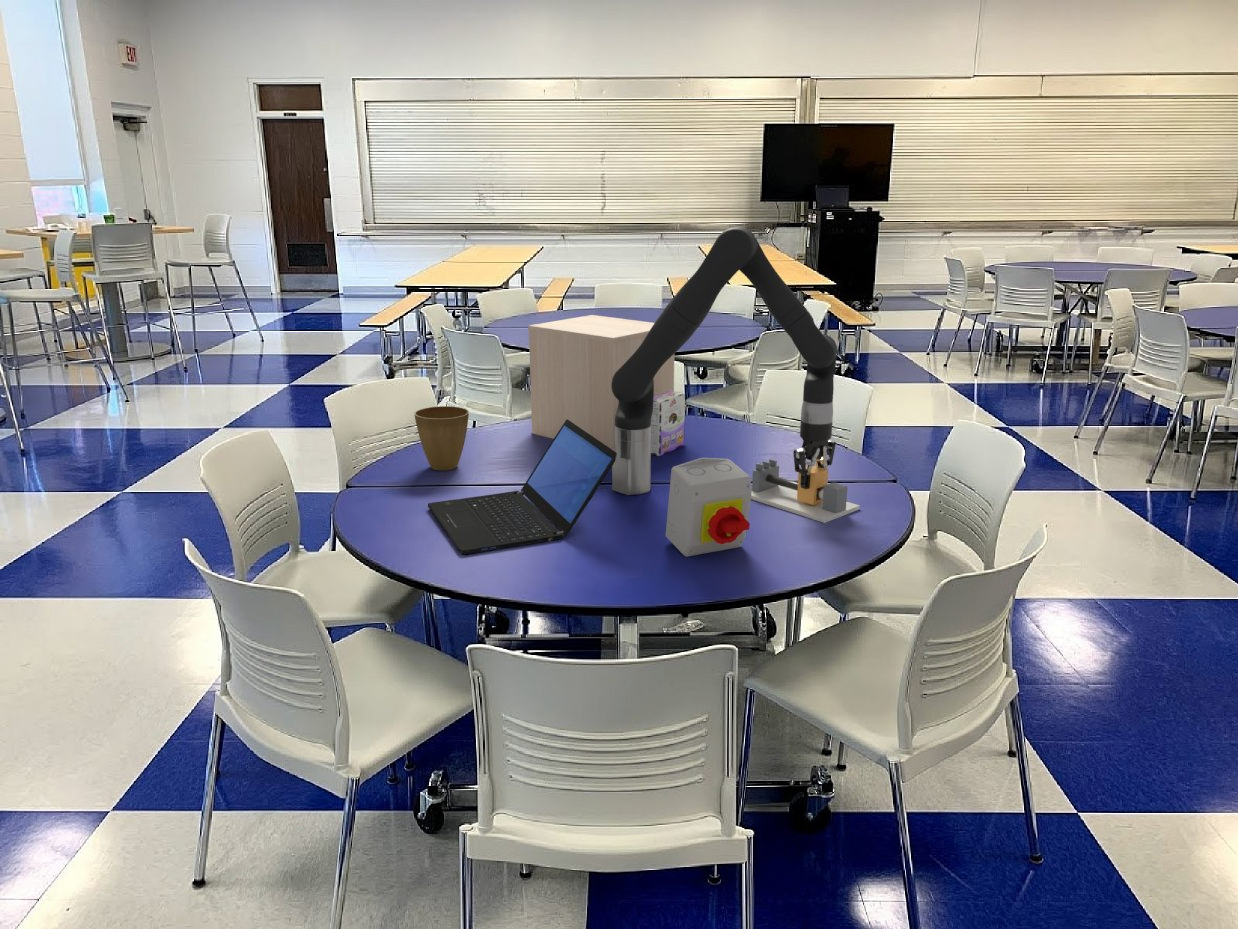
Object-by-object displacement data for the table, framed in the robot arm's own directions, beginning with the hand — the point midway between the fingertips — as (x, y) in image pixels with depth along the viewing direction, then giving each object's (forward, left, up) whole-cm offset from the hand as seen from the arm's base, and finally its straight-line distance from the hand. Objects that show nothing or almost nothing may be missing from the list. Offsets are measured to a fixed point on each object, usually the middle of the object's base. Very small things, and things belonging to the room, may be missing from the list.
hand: (812, 485), depth 232 cm
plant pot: (-50, +89, -6) cm, 103 cm away
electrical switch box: (-39, -3, -6) cm, 40 cm away
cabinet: (+6, +86, -6) cm, 87 cm away
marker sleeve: (0, 0, -4) cm, 4 cm away
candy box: (+8, +60, -6) cm, 61 cm away
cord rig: (0, +3, -5) cm, 6 cm away
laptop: (-59, +41, -6) cm, 72 cm away
